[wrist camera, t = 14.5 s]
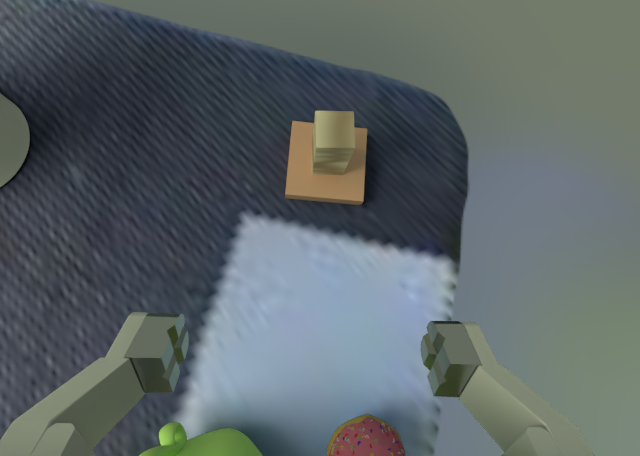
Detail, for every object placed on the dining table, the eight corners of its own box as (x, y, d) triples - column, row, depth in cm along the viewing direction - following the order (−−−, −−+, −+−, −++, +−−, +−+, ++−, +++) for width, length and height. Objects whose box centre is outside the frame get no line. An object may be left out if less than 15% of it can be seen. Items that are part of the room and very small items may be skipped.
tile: (285, 199, 45) (285, 194, 42) (292, 129, 46) (292, 120, 44) (359, 206, 45) (363, 201, 43) (363, 136, 47) (367, 128, 44)
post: (312, 174, 43) (316, 147, 34) (311, 145, 43) (315, 110, 35) (343, 174, 43) (354, 147, 34) (342, 145, 44) (353, 111, 35)
